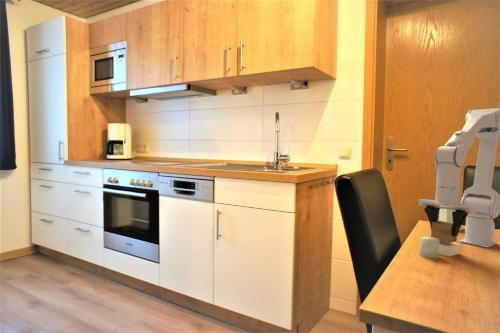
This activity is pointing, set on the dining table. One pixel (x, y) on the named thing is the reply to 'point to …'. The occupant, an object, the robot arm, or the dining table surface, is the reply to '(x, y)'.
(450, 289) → the dining table surface
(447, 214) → the small box
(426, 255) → the cream smooth round part
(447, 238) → the walnut cube
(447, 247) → the cream block
